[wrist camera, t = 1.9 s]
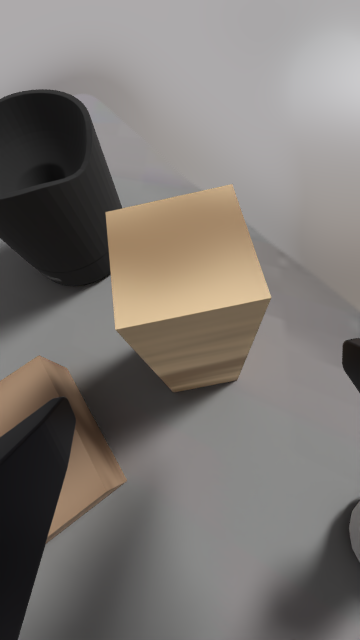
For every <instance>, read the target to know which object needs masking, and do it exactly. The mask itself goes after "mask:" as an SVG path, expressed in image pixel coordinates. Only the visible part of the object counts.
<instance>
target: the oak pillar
mask: <svg viewBox="0 0 360 640" xmlns="http://www.w3.org/2000/svg"><path fill="white" fill-rule="evenodd" d="M106 224H107V235H108V247H109V259H110V271H111V282H112V294H113V306H114V317H115V329H116V331H117V332H118V333H119V334H120V335H121V336H122V337H123V338H124V339H125V341H126V342H127V343H128V344H129V345H130V346H131V347H132V348H133V349H134V350H135V351H136V352H137V354H138V355H139V356H140V357H141V358H142V359H143V360H144V361H145V362H146V363H147V364H148V365H149V367H150V368H151V369H152V370H153V371H154V372H155V373H156V374H157V375H158V376H159V377H160V378H161V380H162V381H163V382H164V383H165V384H166V385H167V386H168V387H169V388H170V389H171V390H172V391H173V393H174V392H179V391H184V390H189V389H194V388H200V387H205V386H210V385H215V384H220V383H225V382H230V381H235V380H237V379H238V377H239V374H240V372H241V370H242V367H243V365H244V362H245V360H246V358H247V355H248V353H249V350H250V348H251V345H252V343H253V341H254V338H255V336H256V333H257V331H258V329H259V326H260V324H261V321H262V319H263V316H264V314H265V312H266V309H267V307H268V304H269V302H270V300H271V296H270V293H269V290H268V287H267V284H266V281H265V278H264V275H263V273H262V270H261V267H260V264H259V261H258V258H257V255H256V252H255V249H254V246H253V244H252V241H251V238H250V235H249V232H248V229H247V226H246V223H245V220H244V217H243V215H242V212H241V209H240V206H239V203H238V200H237V197H236V194H235V191H234V188H233V186H232V184H231V185H227V186H222V187H217V188H213V189H208V190H204V191H199V192H195V193H190V194H186V195H181V196H176V197H172V198H167V199H163V200H158V201H154V202H149V203H145V204H140V205H136V206H131V207H127V208H122V209H118V210H113V211H108V212H106Z"/></svg>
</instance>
